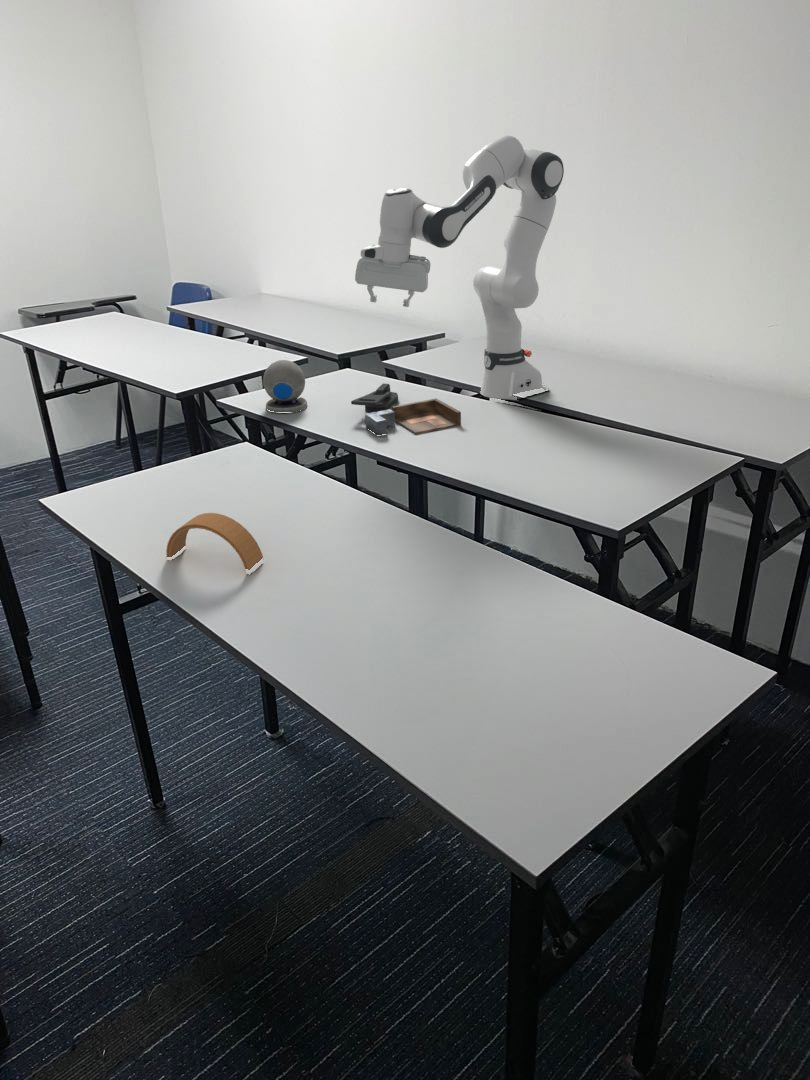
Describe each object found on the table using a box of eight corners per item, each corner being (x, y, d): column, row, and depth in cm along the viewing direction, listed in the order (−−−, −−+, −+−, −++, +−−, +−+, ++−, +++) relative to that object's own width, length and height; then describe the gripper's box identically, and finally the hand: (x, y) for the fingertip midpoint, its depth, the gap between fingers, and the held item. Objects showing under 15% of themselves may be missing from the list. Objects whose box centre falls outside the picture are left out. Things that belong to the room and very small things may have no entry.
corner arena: (436, 411, 251) (436, 398, 249) (460, 425, 239) (460, 411, 237) (392, 419, 245) (391, 406, 243) (415, 434, 233) (414, 420, 231)
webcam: (308, 400, 264) (304, 354, 257) (305, 413, 253) (301, 365, 246) (268, 402, 264) (263, 356, 257) (263, 415, 252) (258, 367, 245)
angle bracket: (366, 428, 239) (365, 413, 237) (390, 423, 242) (390, 409, 240) (377, 436, 232) (376, 421, 230) (402, 431, 235) (402, 416, 233)
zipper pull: (348, 401, 241) (373, 377, 262) (349, 422, 244) (374, 397, 265) (377, 403, 239) (400, 378, 260) (378, 424, 242) (401, 398, 263)
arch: (183, 548, 175) (176, 506, 170) (264, 563, 168) (259, 520, 164) (167, 561, 170) (159, 517, 166) (249, 577, 163) (243, 532, 159)
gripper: (433, 255, 224) (427, 306, 230) (360, 246, 227) (357, 297, 233) (429, 259, 218) (424, 311, 225) (355, 249, 221) (352, 301, 228)
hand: (389, 304), depth 229 cm, fingers open, 8 cm apart
